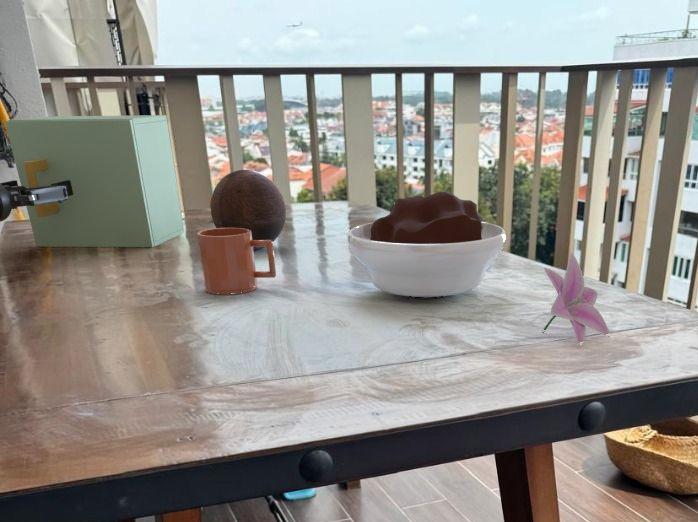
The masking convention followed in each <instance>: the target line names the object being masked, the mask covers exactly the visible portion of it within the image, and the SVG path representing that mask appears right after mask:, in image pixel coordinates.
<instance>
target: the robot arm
mask: <svg viewBox="0 0 698 522" xmlns="http://www.w3.org/2000/svg"><path fill="white" fill-rule="evenodd" d="M71 195H73V190H72V186H71V181H70V180H66V181H62V182H57V183H53V184H51V185H50V186H40V187H31V188H26V187H25V186H21V185H19V183H18V180H16V179H15V180H9V181H3V182H0V223H1V222H3V221H5V220H7V219H8V218H9V217H10V216H11V213H12V210H17V209H18V208H21V207H26V206H29V205H30V206H34V205H37V204H42V203H48V202H54V201H58V203H63V202H62V200H67V199H69V197H68V196H71Z"/></svg>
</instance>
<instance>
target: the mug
mask: <svg viewBox="0 0 698 522" xmlns="http://www.w3.org/2000/svg"><path fill="white" fill-rule="evenodd" d="M196 239H197V245H198V252H199V259H200V265H201V272H202V279H203V286H204V290H205V292H206V293H208V294H210V295H211V294H212V295H216V294H215V293H219V294H217V295H218V296H219V295H220V296H221V295H222V296H227V295H228V296H229V295H233V294H231V293H236V294H235V295H241V294H246V293H251V292H252V291H255V290H256V289H257V288H258V281H257V280H258V279H272V278H273V279H274V278H275V277H276V276H277V271H276V261H275V251H274V242H272V241H271V240H252V233H251V230H249V229H245V228H216V227H215V228H209V229H208V228H207V229H203V230H200V231H198V232H196ZM253 247H264V248H266V249H267V251H266V252H267V259H268V261H267V262H268V268H269V269H268V270H269V271H267V270H265V271H263V270H262V271H260V270H259V271H258V270H257V271H256V269H257V268H256V261H255V254H254V252H255V250H253ZM207 291H208V292H207ZM247 291H248V292H247ZM210 292H211V293H210ZM241 292H243V293H241Z"/></svg>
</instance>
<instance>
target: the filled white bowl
mask: <svg viewBox="0 0 698 522" xmlns="http://www.w3.org/2000/svg"><path fill="white" fill-rule="evenodd" d="M506 242H507V232H506V230H505V229H504V228H503V227H502V226H499V225H497V224H494V223H489V222H486V221H482V217H481V216H480V214H479V212H478V205H477V203H475V202H474V201H473V200H471V199H462V198H461V199H460V197H458V196H456V195H455V194H453V193H451V192H449V191H438V192H435V193H431V194H428V195H426V196H421V195H420V196H419V195H415V196H412V197H411V196H406V197H403V198H397V199H396V201H395V203H394V204H393V206H392V209H391V211H390V212H389V214H387V215H385V216H382V217H379V218H377V219H375V221H373V222H369V223H368V222H367V223H364V224H360V225H357V226H355V227H352V228H351V229H350V230H349V231H348V233H347V245H348V247H349V250H351V251H350V252H352V253H353V255H354V257H355V258H356V259H357V260H358V262H359V263H360V264H361V265H362V266H363V267H364V269H365V270H366V272H367V275H368V278H369V279H370V282H371V283H372V285H373V286H374V287H376V288H377V289H379V290H380V291H382V292H384V293H388V294H391V295H396V296H403V297H409V296H412V297H411V298H415V297H437V298H440V297H439V296H443V297H446V296H447V297H448V296H454V295H460V294H465V293H467V292H470V291H472V290H474V289H476V288H477V287H478V286H480V284H481V283H482V282H483V279H484V277H485V275H486V272H487V270H488V268H489V266H490V265H491V264H492V263H494V261H495V260H496V259H497V258H498V256H499V255H500V253H501V252H502V251H503V248H504V247H505V244H506ZM443 297H442V298H443ZM409 298H410V297H409ZM437 298H436V299H437ZM415 299H416V298H415Z"/></svg>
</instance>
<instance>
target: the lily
mask: <svg viewBox="0 0 698 522" xmlns="http://www.w3.org/2000/svg"><path fill="white" fill-rule="evenodd" d="M543 270H544V272H545V274H546V276H547V277H548V279H549V280H550V282H551V284H552V286H553V287H554V289H555V292H556V293H557V296H556V297H555V300H554V302H553V303H552V305H551V308H550V313H551V314H552V317H551V318H550V319H549V321H548V322H547V323H546V325H545V326H544V328H543V329H544V330H545V331H546V330H547V329H548V328H549V326H550V325H551V323H552V322H553V321H554V319H555V318H557V317H558V318H561V319H565V320H568V321H570V323H571V326H572V329H573V331H574V334H575V338H576V339H577V343H578V344H579V343H580V342H583V341H584V342H585V338H586V331H587V330H586V329H587V328H590V329H591V330H593V331H596V332H597V333H600V334H601V335H603V336H605V335H606V334H608V333H610V330H609V327H608V326H607V323H606V321H605V320H604V317H603V316H602V314H601V313H600V311H599V310H598V309H597V308H596V306H595V304H596V302H597V299H598V295H599V294H598V292H597V290H595V289H594V288H591V287H588V286H585V278H584V274H583V271H582V269H581V266H580V264H579V261H578V259H577V257H576V256H575V254H574V253H573V252H570V254H569V257H568V262H567V266H566V271H565V272H564V273H565V274H564V278H563V276H562V275H560V274H559V273H557V272H556V271H554V270H552V269H550V268H547V267H544V268H543ZM586 327H587V328H586ZM545 331H544V332H542V333H543V334H544V333H545ZM610 337H611V335H610V336H608V337H607V338H610ZM582 347H583V345H582V346H579V348H580V349H581V348H582Z"/></svg>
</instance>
